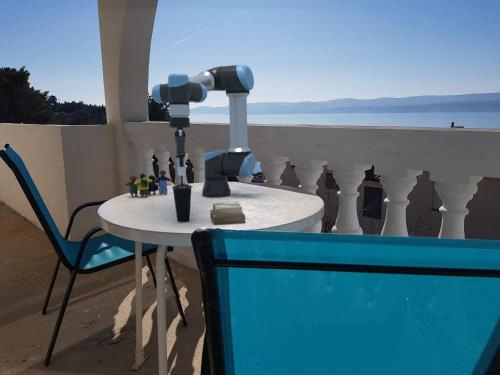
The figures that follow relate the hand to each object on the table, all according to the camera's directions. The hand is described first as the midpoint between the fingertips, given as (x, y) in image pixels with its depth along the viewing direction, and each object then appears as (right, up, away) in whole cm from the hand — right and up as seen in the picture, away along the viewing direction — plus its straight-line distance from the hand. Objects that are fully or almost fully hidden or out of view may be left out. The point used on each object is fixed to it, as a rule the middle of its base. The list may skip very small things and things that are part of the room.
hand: (181, 173), depth 142 cm
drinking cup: (0, -19, +4) cm, 19 cm away
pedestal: (+18, -18, +4) cm, 26 cm away
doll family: (-26, -10, +52) cm, 59 cm away
